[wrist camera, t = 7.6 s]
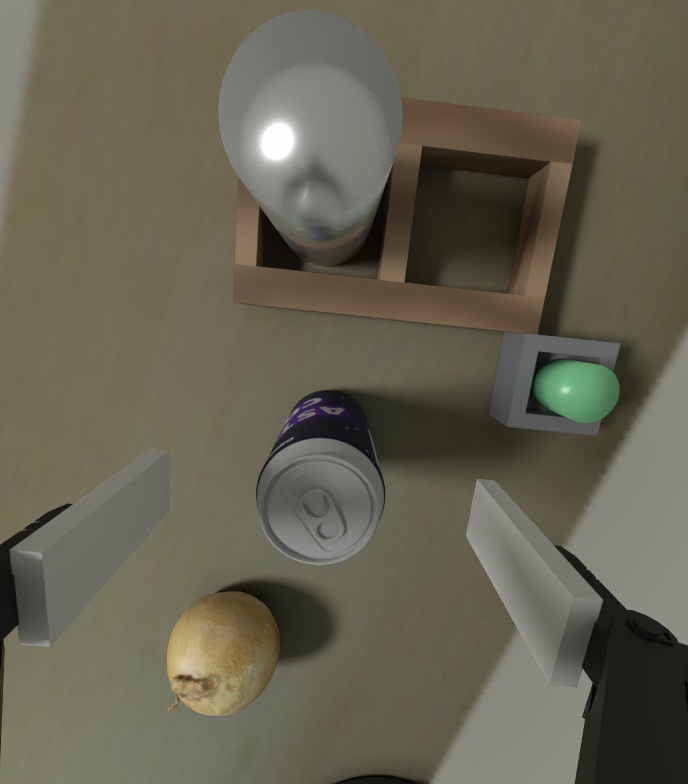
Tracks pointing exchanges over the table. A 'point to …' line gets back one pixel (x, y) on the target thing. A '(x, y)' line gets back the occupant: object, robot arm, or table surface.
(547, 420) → the button housing
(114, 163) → the table surface
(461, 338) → the table surface
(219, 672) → the onion
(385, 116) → the frosted drinking glass
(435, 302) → the glass rack
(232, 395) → the table surface
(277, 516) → the beverage can
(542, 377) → the button
